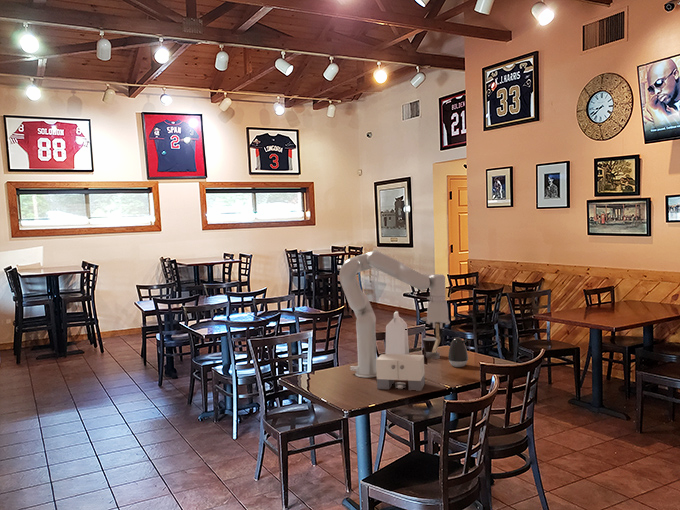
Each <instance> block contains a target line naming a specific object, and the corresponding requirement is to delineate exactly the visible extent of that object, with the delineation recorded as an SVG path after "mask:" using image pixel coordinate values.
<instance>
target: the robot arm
mask: <svg viewBox="0 0 680 510" xmlns="http://www.w3.org/2000/svg"><path fill="white" fill-rule="evenodd" d="M371 269H375V270H378V271H380V272H382V273H384V274H385V275H387V276H390V277H391V278H393V279H395V280H398V281H400V282H403V283H404V284H406V285H408V286H411V287H413V288H415V289H416V290H419V291H425V290H428V289H429V296H426V299H427V300H428V302H427V309H426V310H427V311H426V321H425V323H426V324H428V325H430V326H431V327H432V328H433V335H434V337H436V322H438V323H440V327H439V337H440V338H441V337H442V335H443V328H444V327H445V326H447V325H450V323H451V321H450V319H449V307H448V303H447V301H446V276H445V275H444V274H443V273H442V274H441V273H440V274H439V273H437V274H436V273H435V274H426V273H420V272H419V271H416V270H415V269H413V268H410V267H409V266H407V265H405V264H404V262H403V263H402V262H401V261H399V260H397V259H395V258H393V257H392V256H388V255H387V254H385V253H383V252H381V251H379V250H371V251H369V252H365V253H363V254H359V255H356V256H353V257H349V258H348V259H346V261H344V263H343V264H342V266H341V268H340V270H339V273H338V274H339V282H340V285H341V288H342V290H343V293H344V295H345V298H346V300H347V303H348V306H349V308H350V309H351V310H353V313H354V315H355V318H356V321H355V329H356V345H357V349H356V350H357V365H350V366H349V367H350V368H349V369H350V371H354V372H355V374H354V375H355V377H359V378H365V379H367V378H368V379H369V378H370V379H371V378H377V371H376V359H377V358H378V357H377V356H378V355H377V337H376V324H377V323H376V322H377V317H376V314H375V311H374V310H373V307H372V305H371V302H370V301H369V298H368V296H367V294H366V293H365V292H363V290H362V288H361V285H360V283H359V281H358V279H357V274H358V273H361V272H365V271H369V270H371Z"/></svg>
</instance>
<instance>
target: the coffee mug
mask: <svg viewBox="0 0 680 510" xmlns="http://www.w3.org/2000/svg"><path fill="white" fill-rule="evenodd" d="M435 342H436V337H424V338H422V344H423V351H424V358H425V357H426V352H432V350H433V347H434V344H435ZM436 353H438V350H437V351H436Z"/></svg>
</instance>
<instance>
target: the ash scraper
mask: <svg viewBox="0 0 680 510" xmlns="http://www.w3.org/2000/svg"><path fill="white" fill-rule="evenodd" d="M439 327H440V323H438V322H436V336H435V338H436V342H435V344H434V347H433V350H432V352H426V359H438V360H439V359H440V352H438V348H439V345H440V343H441V337H439ZM436 351H437V353H436Z"/></svg>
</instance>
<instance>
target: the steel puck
mask: <svg viewBox="0 0 680 510" xmlns="http://www.w3.org/2000/svg"><path fill="white" fill-rule="evenodd" d="M406 385H407V384H406V382H401V381H399V382H398V381H397V382H394V388H395V389H396V388H398V389H397V390H403V388H405V389H406V388H407V387H406Z"/></svg>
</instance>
